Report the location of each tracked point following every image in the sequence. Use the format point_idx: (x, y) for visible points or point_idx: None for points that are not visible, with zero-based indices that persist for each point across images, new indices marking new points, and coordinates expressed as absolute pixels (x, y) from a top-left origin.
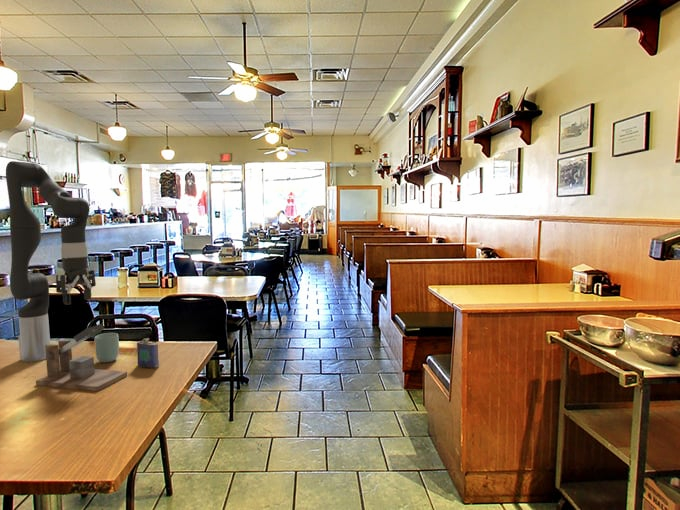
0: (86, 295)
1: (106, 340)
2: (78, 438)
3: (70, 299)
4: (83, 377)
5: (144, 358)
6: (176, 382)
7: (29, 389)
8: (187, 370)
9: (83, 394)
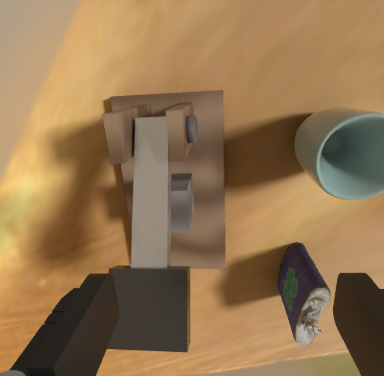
0: (357, 330)
1: (318, 185)
2: (20, 337)
3: (97, 357)
4: None
5: (286, 283)
6: (217, 357)
7: (91, 106)
8: (279, 349)
9: (119, 246)
